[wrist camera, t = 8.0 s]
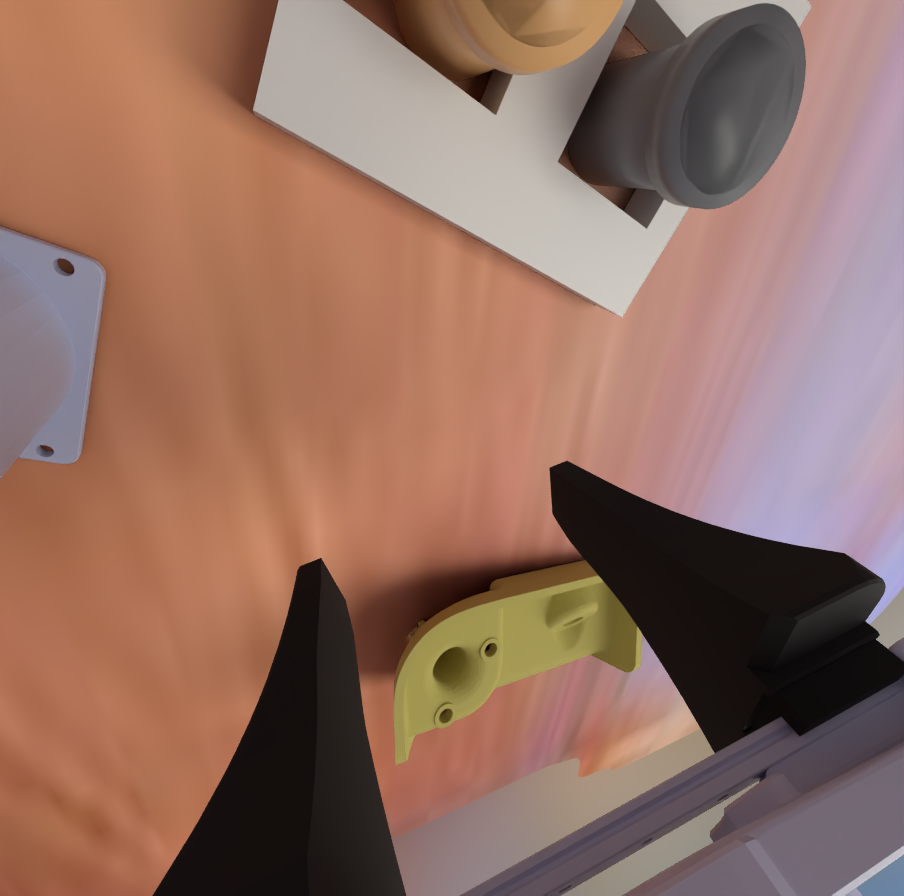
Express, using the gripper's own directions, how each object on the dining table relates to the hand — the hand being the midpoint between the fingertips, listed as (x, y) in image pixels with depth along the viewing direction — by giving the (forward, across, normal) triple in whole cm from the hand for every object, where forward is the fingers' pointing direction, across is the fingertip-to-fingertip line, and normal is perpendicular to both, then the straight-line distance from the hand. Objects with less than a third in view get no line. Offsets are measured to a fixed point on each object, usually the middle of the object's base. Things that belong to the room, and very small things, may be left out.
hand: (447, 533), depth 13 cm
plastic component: (+10, -4, +20) cm, 23 cm away
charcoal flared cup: (+9, -12, -8) cm, 17 cm away
